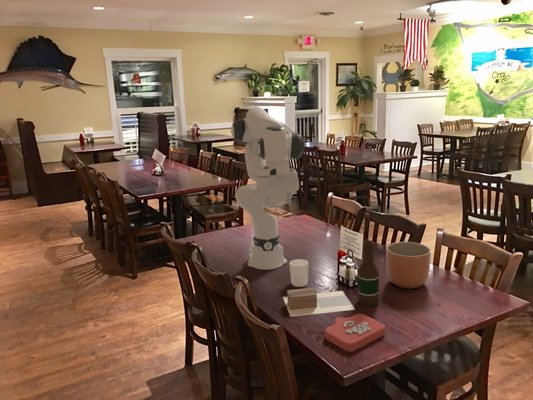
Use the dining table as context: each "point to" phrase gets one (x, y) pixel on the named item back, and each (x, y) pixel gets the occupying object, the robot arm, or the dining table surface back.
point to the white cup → (299, 272)
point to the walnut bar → (302, 298)
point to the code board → (324, 304)
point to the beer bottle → (368, 278)
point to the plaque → (354, 332)
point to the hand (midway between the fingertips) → (280, 205)
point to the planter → (408, 264)
